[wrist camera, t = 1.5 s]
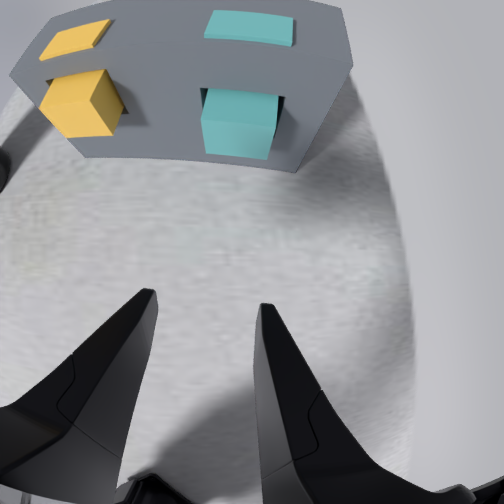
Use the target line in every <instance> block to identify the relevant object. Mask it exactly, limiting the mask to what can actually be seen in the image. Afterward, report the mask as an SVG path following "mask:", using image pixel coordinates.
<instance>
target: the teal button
mask: <svg viewBox="0 0 504 504" xmlns="http://www.w3.org/2000/svg"><path fill="white" fill-rule="evenodd" d="M277 109H278V95H272V94H264V93H257V92H248V91H239V90H228V89H214V88H208V92H207V96H206V100H205V104H204V108H203V112H202V116H201V125H202V132H203V138H204V144H205V150H206V153H207V154H218V155H228V156H238V157H246V158H255V159H262V160H267V158H268V154H269V151H270V147H271V143H272V140H273V136H274V133H275V129H276V121H277Z"/></svg>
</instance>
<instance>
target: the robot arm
mask: <svg viewBox="0 0 504 504" xmlns="http://www.w3.org/2000/svg"><path fill="white" fill-rule="evenodd" d="M157 315H158V302H157V296H156V291H155V290H153V289H147V288H143V289H141V290H140V291H139V292H138V293H137V294H136V295H134V296H133V297H132V298H131V299H130V300H129V301H128V302H127V303H126V304H124V305H123V306H122V307H121V308H120V309H119V310H118V311H117V312H116V313H114V314H113V315H112V316H111V317H110V318H109V319H108V320H107V321H106V322H105V323H103V324H102V325H101V326H100V327H99V328H98V329H97V330H96V331H95V332H94V333H93V334H92V335H91V336H90V337H88V338H87V339H86V340H85V341H84V342H83V343H82V344H81V345H80V346H79V347H78V348H77V349H76V350H75V351H74V352H73V353H72V354H71V355H69V356H68V357H67V358H66V359H65V360H64V361H63V362H62V363H61V364H60V365H59V366H58V367H57V368H56V369H55V370H54V371H52V372H51V373H50V374H49V375H48V376H46V377H45V378H44V379H43V380H42V381H40V382H39V383H38V384H37V385H35V386H34V387H33V388H32V389H30V390H29V391H28V392H27V393H25V394H24V395H23V396H22V397H20V398H19V399H18V400H16V401H15V402H13V403H12V404H9V405H7V406H4V407H0V504H193V503H191V502H190V501H189V500H187V499H186V498H184V497H183V496H182V495H181V494H179V493H178V492H177V491H175V490H174V489H173V488H172V487H170V486H169V485H168V484H167V483H165V482H164V481H163V480H162V479H161V478H159V477H158V476H157V475H156V474H149V475H147V476H145V477H142V478H140V479H133V480H131V481H129V482H126V483H124V484H122V485H120V486H119V488H117V489H116V486H117V481H118V476H119V471H120V466H121V462H122V457H123V452H124V448H125V444H126V439H127V435H128V431H129V427H130V423H131V419H132V415H133V412H134V408H135V404H136V400H137V397H138V393H139V390H140V386H141V383H142V379H143V376H144V372H145V369H146V366H147V362H148V359H149V355H150V351H151V346H152V341H153V335H154V330H155V325H156V320H157ZM253 370H254V386H255V400H256V415H257V428H258V442H259V456H260V469H261V479H262V480H261V483H262V496H263V504H504V476H502V477H500V478H498V479H495V480H493V481H491V482H488V483H486V484H484V485H481V486H479V487H476V488H473V489H471V490H469V489H468V488H466V487H465V486H463V485H462V484H457V485H454V486H451V487H448V488H445V489H442V490H439V491H436V492H430V491H427V490H425V489H423V488H421V487H418V486H416V485H414V484H412V483H410V482H408V481H406V480H404V479H402V478H401V477H399V476H397V475H395V474H393V473H391V472H389V471H387V470H386V469H384V468H382V467H381V466H379V465H378V464H377V463H376V462H374V461H373V460H372V459H371V458H370V457H369V455H368V454H367V453H366V452H365V450H364V449H363V448H362V447H361V445H360V444H359V443H358V441H357V440H356V439H355V438H354V436H353V435H352V434H351V432H350V431H349V430H348V429H347V427H346V426H345V425H344V423H343V422H342V420H341V419H340V418H339V416H338V415H337V413H336V412H335V410H334V409H333V407H332V405H331V404H330V402H329V401H328V399H327V397H326V395H325V394H324V392H323V390H321V387H320V385H319V383H318V382H317V380H316V378H315V376H314V375H313V373H312V371H311V369H310V368H309V366H308V364H307V362H306V361H305V359H304V357H303V355H302V354H301V352H300V350H299V348H298V347H297V345H296V343H295V341H294V340H293V338H292V336H291V334H290V332H289V331H288V329H287V327H286V325H285V324H284V322H283V320H282V318H281V317H280V315H279V313H278V311H277V310H276V308H275V306H274V305H273V304H269V303H261V304H260V306H259V311H258V315H257V320H256V330H255V346H254V363H253ZM153 478H155V479H153Z"/></svg>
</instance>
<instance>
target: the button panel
mask: <svg viewBox="0 0 504 504" xmlns="http://www.w3.org/2000/svg"><path fill="white" fill-rule="evenodd" d="M352 67H353V61H352V55H351V50H350V44H349V40H348V35H347V31H346V26H345V22H344V18H343V14H342V10H341V8H338V7H334V6H330V5H327V4H323V3H318V2H314V1H310V0H111V1H107V2H102V3H98V4H94V5H91V6H87V7H84V8H81V9H77V10H74V11H71V12H68V13H64V14H62V15H59V16H56V17H53V18H51V19H50V20H49V21H48V23H47V24H46V25H45V26H44V28H43V29H42V30H41V31H40V32H39V34H38V35H37V36H36V37H35V39H34V40H33V41H32V42H31V44H30V45H29V46H28V48H27V49H26V51H25V52H24V54H23V55H22V56H21V58H20V59H19V61H18V62H17V64H16V65H15V67H14V68H13V70H12V71H11V73H10V75H9V76H10V77H11V78H12V79H13V81H14V82H15V83H16V84H17V85H18V86H19V88H20V89H21V90H22V91H23V92H24V93H25V94H26V95H27V97H28V98H29V99H30V100H31V101H32V102H33V103H34V104H35V105H36V107H37V108H38V109H39V107H40V105H41V103H42V101H43V99H44V97H45V95H46V93H47V91H48V89H49V87H50V86H51V84H52V82H53V80H54V78H58V77H62V76H67V75H72V74H77V73H82V72H88V71H94V70H101V69H107V71H108V73H109V75H110V77H111V79H112V81H113V83H114V85H115V87H116V89H117V91H118V93H119V95H120V97H121V99H122V101H123V103H124V108H123V110H122V113H121V116H120V118H119V121H118V124H117V126H116V129H115V132H114V135H113V136H92V137H75V138H67V139H68V141H69V142H70V143H71V144H72V145H73V146H74V147H75V148H76V149H77V150H78V151H79V152H80V153H81V154H82V155H83V156H84V157H85V158H95V157H114V158H153V159H172V160H188V161H200V162H212V163H222V164H232V165H241V166H250V167H258V168H265V169H272V170H280V171H286V172H293V173H296V171H297V169H298V167H299V165H300V163H301V161H302V160H303V158H304V156H305V154H306V152H307V150H308V148H309V147H310V145H311V143H312V141H313V139H314V137H315V135H316V134H317V132H318V130H319V128H320V126H321V124H322V122H323V121H324V119H325V117H326V115H327V113H328V111H329V109H330V108H331V106H332V104H333V102H334V100H335V98H336V96H337V95H338V93H339V91H340V89H341V87H342V85H343V83H344V82H345V80H346V78H347V76H348V74H349V72H350V70H351V69H352ZM208 88H214V89H228V90H239V91H248V92H257V93H264V94H272V95H278V109H277V121H276V129H275V133H274V136H273V140H272V143H271V147H270V151H269V154H268V158H267V160H262V159H255V158H246V157H238V156H228V155H218V154H207V153H206V150H205V144H204V138H203V132H202V125H201V116H202V112H203V108H204V104H205V100H206V96H207V92H208ZM48 120H49V119H48ZM49 121H50V120H49ZM50 122H51V121H50Z"/></svg>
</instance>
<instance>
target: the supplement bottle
mask: <svg viewBox="0 0 504 504" xmlns="http://www.w3.org/2000/svg"><path fill="white" fill-rule="evenodd" d="M9 169H10V157H9V154H8V152H7V151H6V150H5V149H3V148H2V147H1V146H0V191H1V189H2V188H3V186H4V184H5V182H6V179H7V177H8V174H9Z"/></svg>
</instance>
